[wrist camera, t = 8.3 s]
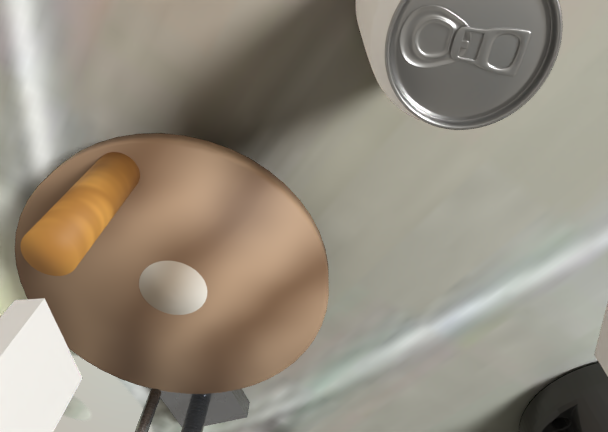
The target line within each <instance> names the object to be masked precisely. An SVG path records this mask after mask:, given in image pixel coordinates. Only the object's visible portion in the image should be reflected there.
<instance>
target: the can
mask: <svg viewBox="0 0 608 432" xmlns="http://www.w3.org/2000/svg"><path fill="white" fill-rule="evenodd" d="M356 17H357V22H358V26H359V30H360V33H361V37H362V40H363V43H364V46H365V50H366V53H367V56H368V59H369V62H370V65H371V68H372V70H373V73H374V75H375V78H376V80H377V82H378V84H379V85H380V87H381V89H382V90H383V92H384V93H385V94H386V96H387V97H388V98H389V99H390V100H391V101H392V102H393V103H394V104H395V105H396V106H397V107H398V108H399V109H401V110H402V111H403V112H405V113H406V114H408V115H410V116H412V117H414V118H416V119H418V120H421V121H424V122H426V123H428V124H431V125H433V126H436V127H440V128H445V129H452V130H466V129H474V128H479V127H483V126H487V125H490V124H493V123H495V122H498V121H500V120H502V119H504V118H506V117H507V116H509V115H511V114H512V113H514V112H515V111H517V110H518V109H519V108H521V107H522V106H523V105H524V104H526V103H527V102H528V101H529V100H530V99H531V98H532V97H533V96H534V95H535V94H536V92H537V91H538V90H539V89H540V87H541V86H542V85H543V83H544V82H545V80H546V79H547V77H548V76H549V74H550V72H551V70H552V68H553V66H554V64H555V61H556V58H557V56H558V52H559V49H560V45H561V39H562V28H563V24H562V12H561V7H560V3H559V0H356Z"/></svg>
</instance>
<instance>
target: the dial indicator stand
mask: <svg viewBox="0 0 608 432" xmlns="http://www.w3.org/2000/svg"><path fill="white" fill-rule="evenodd" d="M160 398H161V399H162V401H163V402H164V403H165V405H166V406H167V407H168V409H169V410H170V412H171V413H172V414H173V416H174V417H175V418H176V420H177V421H178V423H179V424H180V425H181V427H182V430H181V432H202V431H203V427H204V426H206V425H211V424H216V423H221V422H226V421H231V420H236V419H241V418H246V417H247V415H248V409H249V403H250V402H249V401H248V399H247V397H246V396H245V394H244V392H243V391H242V389H238V390H232V391H227V392H221V393H209V394H185V393H175V392H167V391H162V390H159V389H151V391H150V393H149V396H148V399H147V401H146V404H145V406H144V409H143V412H142V414H141V417H140V420H139V422H138V425H137V428H136V431H135V432H148V430H149V427H150V424H151V422H152V419H153V416H154V413H155V410H156V407H157V405H158V402H159V399H160Z"/></svg>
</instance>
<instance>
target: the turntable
mask: <svg viewBox="0 0 608 432" xmlns="http://www.w3.org/2000/svg"><path fill="white" fill-rule="evenodd" d="M15 257H16V266H17V270H18V274H19V278H20V282H21V284H22V286H23V289H24V291H25V294H26V296H27V298H28V299H42V298H45V300H46V302H47V304H48V307H49V309H50V311H51V313H52V315H53V317H54V319H55V321H56V323H57V325H58V327H59V330H60V332H61V334H62V336H63V338H64V340H65V342H66V344H67V346H68V348H69V349H70V350H72V351H73V352H74V353H76V354H77V355H79V356H80V357H81V358H83V359H84V360H86V361H87V362H89V363H91V364H92V365H94V366H96V367H98V368H99V369H101V370H103V371H105V372H107V373H109V374H111V375H113V376H116V377H118V378H120V379H123V380H126V381H128V382H131V383H134V384H137V385H141V386H144V387H148V388H152V389H159V390H162V391H167V392H175V393H185V394H209V393H221V392H227V391H232V390H238V389H242V388H245V387H248V386H252V385H255V384H257V383H260V382H262V381H264V380H267V379H269V378H271V377H273V376H274V375H276V374H278V373H280V372H281V371H283V370H284V369H286V368H287V367H288V366H290V365H291V364H292V363H294V362H295V361H296V360H297V359H298V358H299V357H300V356H301V355H302V354H303V353H304V352H305V351H306V350H307V348H308V347H309V346H310V344H311V343H312V342H313V340H314V339H315V337H316V335H317V333H318V331H319V329H320V327H321V326H322V322H323V319H324V316H325V313H326V309H327V303H328V296H329V286H328V261H327V256H326V250H325V247H324V244H323V241H322V238H321V235H320V232H319V230H318V228H317V227H316V225H315V223H314V221H313V219H312V217H311V215H310V214H309V212H308V211H307V210H306V208H305V207H304V205H303V204H302V203H301V201H300V200H299V199H298V198H297V197H296V195H295V194H294V193H293V192H292V191H291V190H290V189H289V188H288V187H287V186H286V185H285V184H284V183H283V182H282V181H280V180H279V179H278V178H277V177H276V176H274V175H273V174H272V173H271V172H270V171H268V170H267V169H265V168H264V167H262V166H261V165H259V164H257V163H256V162H254V161H253V160H251V159H250V158H248V157H246V156H244V155H242V154H239V153H237V152H235V151H233V150H231V149H229V148H226V147H224V146H221V145H218V144H215V143H212V142H209V141H206V140H202V139H197V138H193V137H188V136H183V135H173V134H163V133H152V134H134V135H128V136H121V137H116V138H113V139H109V140H106V141H103V142H99V143H96V144H94V145H92V146H90V147H88V148H86V149H84V150H82V151H79V152H78V153H76V154H75V155H73V156H72V157H71V158H69V159H68V160H66V161H65V162H63V163H62V164H61V165H60V166H59V167H58V168H57V169H55V170H54V171H53V172H52V173H51V174H50V175H49V176H48V177H47V178H46V179H45V180H44V181H43V182H42V183H41V184H40V185H39V186H38V187H37V188H36V189H35V191H34V192H33V194H32V195H31V196H30V198H29V199H28V201H27V203H26V205H25V207H24V209H23V211H22V213H21V215H20V219H19V223H18V227H17V230H16V239H15Z"/></svg>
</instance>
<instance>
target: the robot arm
mask: <svg viewBox="0 0 608 432" xmlns="http://www.w3.org/2000/svg"><path fill="white" fill-rule="evenodd" d="M594 355H595V357H596V358H597V360H598V362H599V363H596V364H593V365H589V366H586V367H583V368H581V369H578V370H576V371H573V372H571V373H569V374H567V375H565V376H563V377H561V378H559V379H557V380H556V381H554V382H553V383H551V384H550V385H548V386H547V387H546V388H544V389H543V390H542V391H541V392H540V393H539V394H537V395H536V396H535V398H534V399H533V400H532V401H531V402H530V403H529V405H528V406H527V408H526V409H525V411H524V413H523V415H522V418H521V421H520V427H519V432H608V303H607V307H606V311H605V315H604V319H603V322H602V326H601V330H600V334H599V338H598V342H597V346H596V350H595V354H594ZM81 380H82V376H81V373H80V371H79V369H78V367H77V365H76V363H75V361H74V359H73V357H72V355H71V353H70V350H69V348H68V346H67V344H66V342H65V340H64V338H63V336H62V334H61V332H60V330H59V327H58V325H57V323H56V321H55V319H54V317H53V315H52V313H51V311H50V309H49V307H48V304H47V302H46V300H45V298H42V299H25V300H14V302H13V303H12V304H11V305H10V306H9V308H8V309H7V310H6V311H5V312H4V313H3V315H2V316H1V317H0V432H54V430H55V428H56V426H57V424H58V423H59V421H60V419H61V417H62V415H63V413H64V412H65V410H66V408H67V406H68V404H69V402H70V401H71V399H72V397H73V395H74V393H75V391H76V389H77V388H78V386H79V384H80V382H81Z"/></svg>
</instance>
